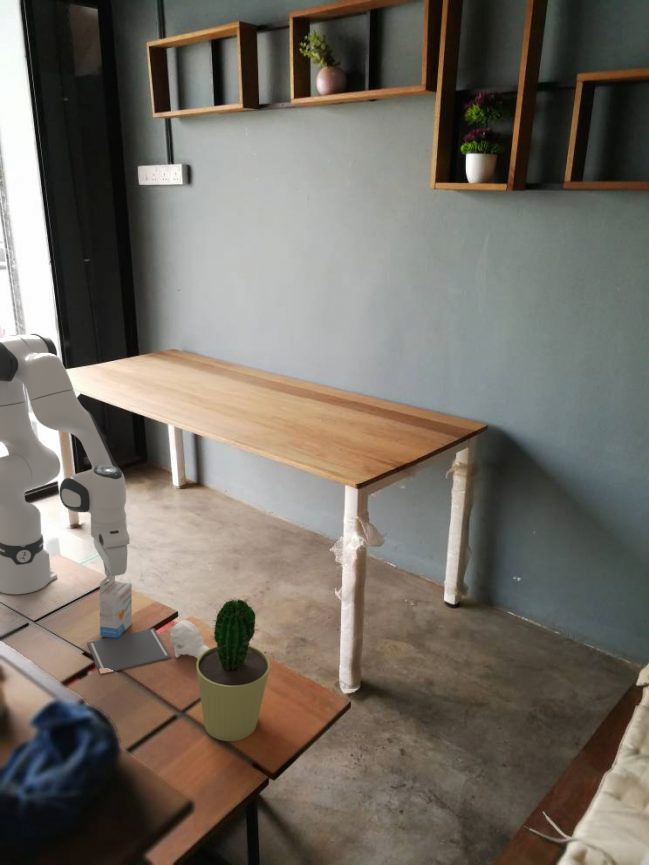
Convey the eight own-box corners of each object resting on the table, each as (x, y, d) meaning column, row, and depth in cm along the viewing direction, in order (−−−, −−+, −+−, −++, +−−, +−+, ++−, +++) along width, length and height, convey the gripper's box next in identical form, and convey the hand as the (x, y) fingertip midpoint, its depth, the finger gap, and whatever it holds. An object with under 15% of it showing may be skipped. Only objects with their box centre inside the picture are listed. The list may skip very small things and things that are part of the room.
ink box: (118, 639, 175) (117, 585, 172) (99, 636, 176) (98, 583, 172) (132, 623, 183) (132, 571, 180) (115, 621, 184) (114, 569, 181)
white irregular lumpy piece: (187, 613, 174) (222, 635, 168) (184, 641, 177) (218, 664, 171) (168, 622, 169) (203, 645, 163) (165, 651, 172) (199, 675, 166)
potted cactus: (227, 760, 139) (234, 628, 131) (179, 722, 148) (182, 597, 140) (281, 723, 150) (290, 600, 142) (233, 691, 160) (238, 574, 152)
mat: (87, 643, 173) (87, 642, 173) (154, 629, 182) (154, 627, 182) (100, 674, 162) (100, 673, 161) (171, 657, 170) (171, 656, 170)
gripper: (87, 515, 186) (88, 561, 190) (105, 544, 169) (106, 595, 173) (111, 511, 189) (111, 558, 193) (131, 540, 172) (131, 590, 176)
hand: (109, 576), depth 183 cm, fingers closed
